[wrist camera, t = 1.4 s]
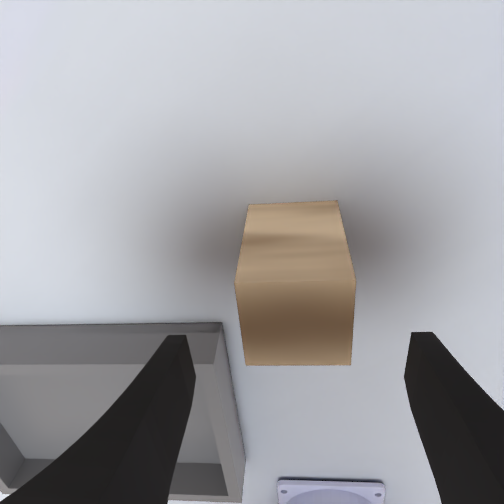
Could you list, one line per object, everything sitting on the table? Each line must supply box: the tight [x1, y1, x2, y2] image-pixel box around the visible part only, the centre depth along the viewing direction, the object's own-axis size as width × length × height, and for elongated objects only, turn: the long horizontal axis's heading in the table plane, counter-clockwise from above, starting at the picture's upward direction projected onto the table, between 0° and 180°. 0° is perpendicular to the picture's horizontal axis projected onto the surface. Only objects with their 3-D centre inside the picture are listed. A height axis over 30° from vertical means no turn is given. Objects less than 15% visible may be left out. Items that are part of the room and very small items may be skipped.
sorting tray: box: [0, 323, 246, 503], centre depth 26 cm, size 14×18×3 cm
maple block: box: [234, 200, 356, 366], centre depth 17 cm, size 4×4×6 cm
